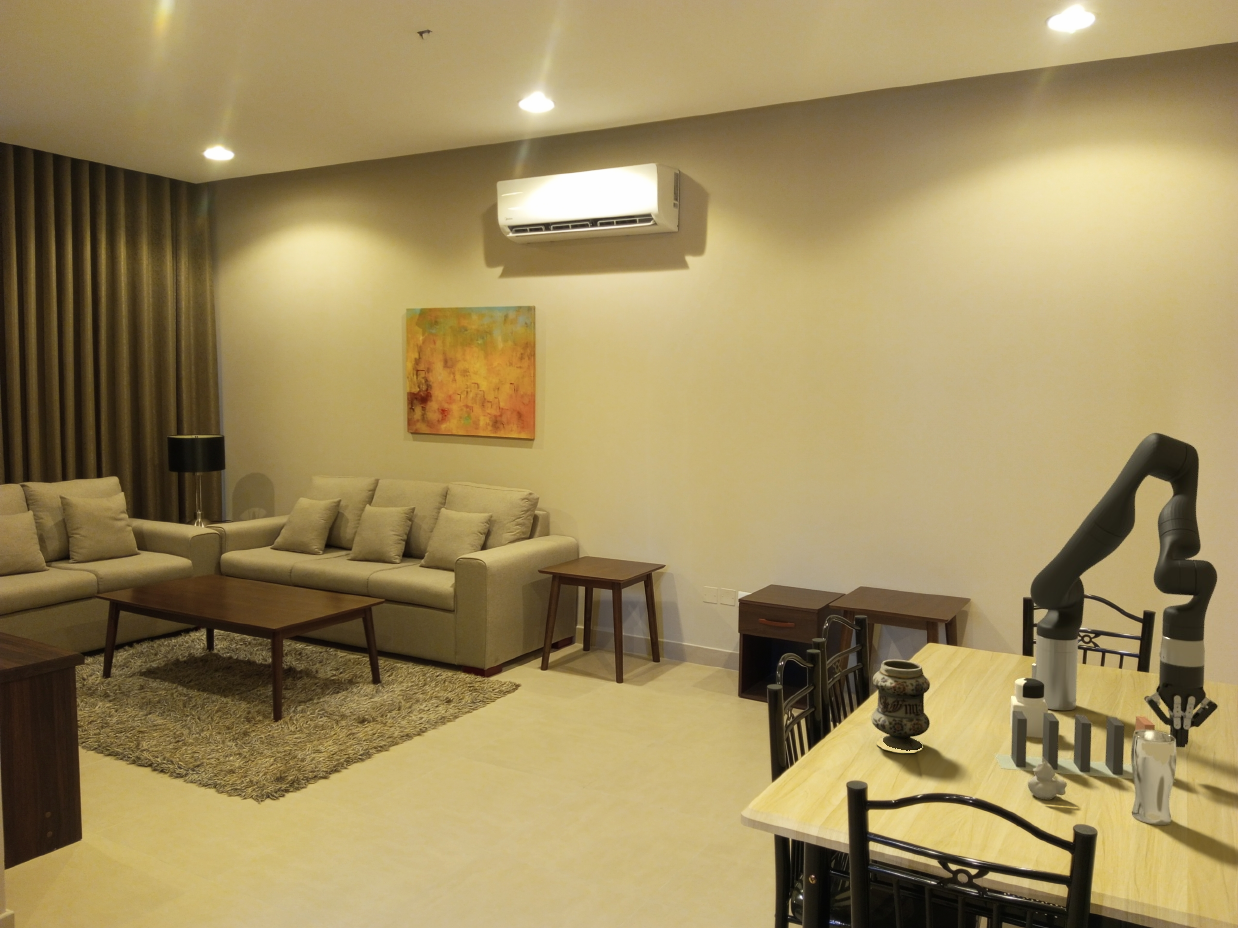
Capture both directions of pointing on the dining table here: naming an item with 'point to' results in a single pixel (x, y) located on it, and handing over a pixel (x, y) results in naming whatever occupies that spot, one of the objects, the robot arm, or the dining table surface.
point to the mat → (1065, 767)
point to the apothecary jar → (901, 703)
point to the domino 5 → (1144, 723)
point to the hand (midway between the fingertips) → (1179, 745)
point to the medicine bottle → (1030, 704)
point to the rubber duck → (1045, 782)
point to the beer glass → (1153, 775)
